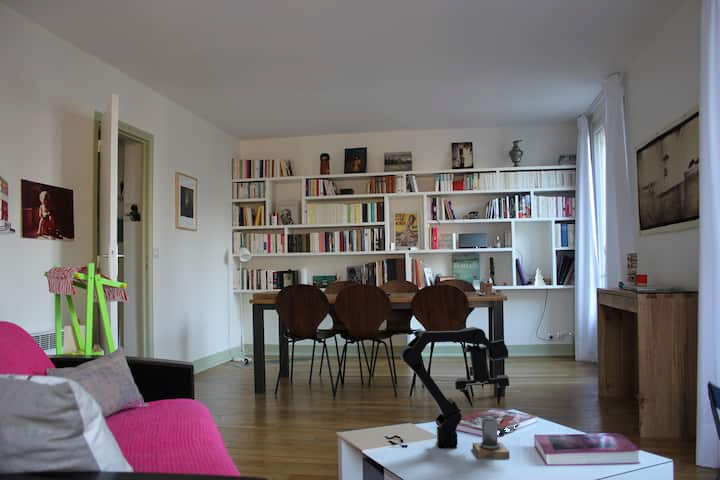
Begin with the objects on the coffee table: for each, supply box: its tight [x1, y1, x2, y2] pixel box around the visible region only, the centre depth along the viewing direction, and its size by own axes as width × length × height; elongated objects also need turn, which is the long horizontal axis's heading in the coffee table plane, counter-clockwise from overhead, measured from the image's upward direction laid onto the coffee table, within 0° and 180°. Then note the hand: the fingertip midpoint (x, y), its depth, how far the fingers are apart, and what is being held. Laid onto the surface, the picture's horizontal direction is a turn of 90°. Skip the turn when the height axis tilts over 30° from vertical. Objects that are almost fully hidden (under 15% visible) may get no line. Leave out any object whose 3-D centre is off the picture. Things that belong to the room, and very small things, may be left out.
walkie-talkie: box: [495, 417, 515, 437], centre depth 214 cm, size 9×4×20 cm
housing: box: [480, 415, 500, 450], centre depth 187 cm, size 6×6×10 cm
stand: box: [472, 441, 510, 460], centre depth 186 cm, size 10×10×2 cm
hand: (485, 406), depth 197 cm, fingers open, 9 cm apart
